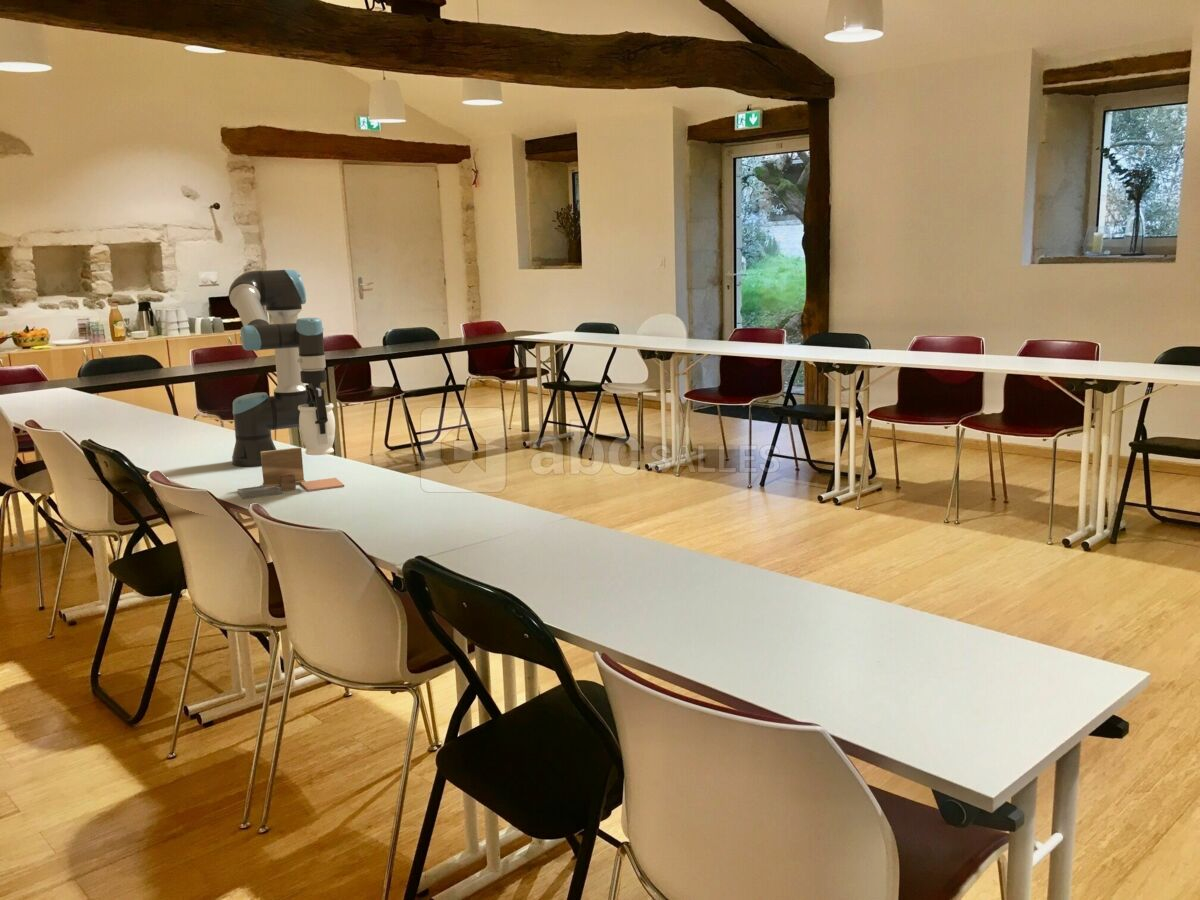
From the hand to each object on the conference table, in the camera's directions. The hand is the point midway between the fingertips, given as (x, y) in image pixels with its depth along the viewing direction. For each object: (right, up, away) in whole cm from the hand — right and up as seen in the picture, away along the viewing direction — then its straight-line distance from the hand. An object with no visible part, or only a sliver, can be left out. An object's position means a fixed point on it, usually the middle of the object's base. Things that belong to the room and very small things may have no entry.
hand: (318, 441), depth 306 cm
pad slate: (-17, -15, -4) cm, 23 cm away
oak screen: (-12, -13, +5) cm, 19 cm away
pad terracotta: (0, -14, +3) cm, 14 cm away
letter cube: (-9, -14, 0) cm, 17 cm away
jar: (0, -4, +1) cm, 4 cm away
